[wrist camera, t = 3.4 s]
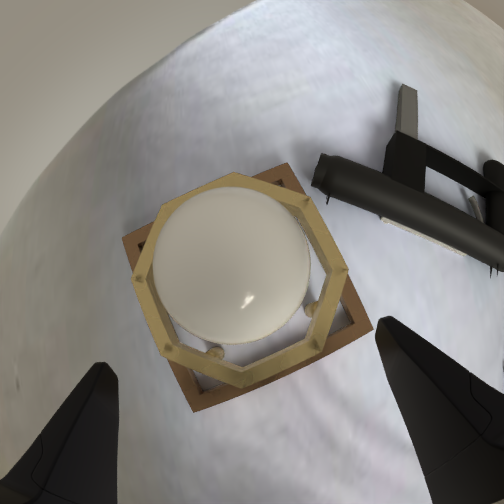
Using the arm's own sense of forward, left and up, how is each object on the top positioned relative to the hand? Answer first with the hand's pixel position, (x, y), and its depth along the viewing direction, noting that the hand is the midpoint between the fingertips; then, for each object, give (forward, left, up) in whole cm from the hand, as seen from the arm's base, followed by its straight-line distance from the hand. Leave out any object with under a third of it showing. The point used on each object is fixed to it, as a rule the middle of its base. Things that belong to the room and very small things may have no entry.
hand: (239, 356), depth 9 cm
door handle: (+20, +5, -11) cm, 23 cm away
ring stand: (+1, +3, -11) cm, 11 cm away
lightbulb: (+1, +3, -11) cm, 11 cm away
